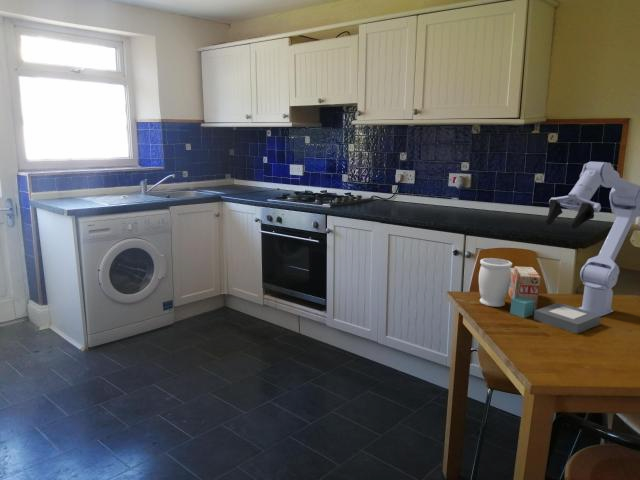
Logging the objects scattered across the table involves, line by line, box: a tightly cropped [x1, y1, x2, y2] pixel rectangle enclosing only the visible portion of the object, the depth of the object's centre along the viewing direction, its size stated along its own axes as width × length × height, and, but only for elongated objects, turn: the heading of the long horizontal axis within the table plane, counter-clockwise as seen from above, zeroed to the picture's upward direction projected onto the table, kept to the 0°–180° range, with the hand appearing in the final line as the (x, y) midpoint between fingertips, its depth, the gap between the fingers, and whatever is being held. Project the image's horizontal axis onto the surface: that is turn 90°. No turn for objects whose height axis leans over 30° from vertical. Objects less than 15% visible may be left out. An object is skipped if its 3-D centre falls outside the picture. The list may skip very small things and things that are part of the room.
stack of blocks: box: [507, 266, 542, 312], centre depth 177 cm, size 21×6×12 cm, turn 169°
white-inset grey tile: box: [533, 302, 602, 335], centre depth 159 cm, size 14×14×3 cm
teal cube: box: [509, 296, 534, 319], centre depth 165 cm, size 5×5×5 cm
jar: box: [478, 257, 513, 308], centre depth 174 cm, size 11×10×15 cm
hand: (560, 224), depth 146 cm, fingers open, 7 cm apart
